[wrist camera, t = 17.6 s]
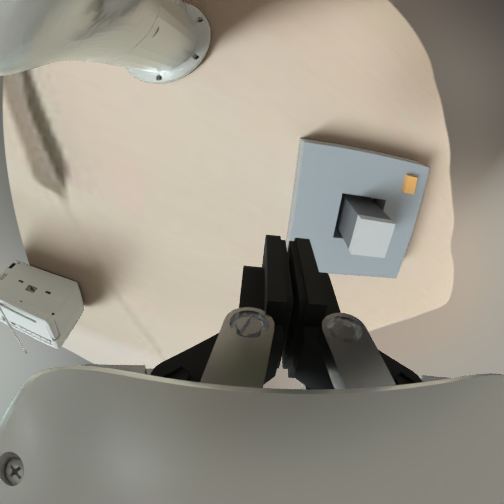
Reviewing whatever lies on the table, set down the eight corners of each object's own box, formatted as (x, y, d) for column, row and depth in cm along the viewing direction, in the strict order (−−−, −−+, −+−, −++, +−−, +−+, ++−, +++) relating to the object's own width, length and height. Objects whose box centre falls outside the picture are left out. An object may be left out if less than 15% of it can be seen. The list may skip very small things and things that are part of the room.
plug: (339, 191, 39) (361, 218, 30) (368, 196, 39) (395, 224, 30) (333, 220, 41) (351, 254, 33) (361, 224, 41) (384, 258, 33)
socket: (300, 138, 36) (305, 143, 32) (416, 161, 36) (432, 169, 32) (283, 255, 45) (285, 272, 40) (387, 264, 45) (397, 281, 41)
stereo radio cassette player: (20, 283, 51) (-26, 338, 34) (13, 254, 47) (-41, 308, 30) (87, 309, 53) (44, 380, 36) (83, 278, 49) (30, 351, 32)
